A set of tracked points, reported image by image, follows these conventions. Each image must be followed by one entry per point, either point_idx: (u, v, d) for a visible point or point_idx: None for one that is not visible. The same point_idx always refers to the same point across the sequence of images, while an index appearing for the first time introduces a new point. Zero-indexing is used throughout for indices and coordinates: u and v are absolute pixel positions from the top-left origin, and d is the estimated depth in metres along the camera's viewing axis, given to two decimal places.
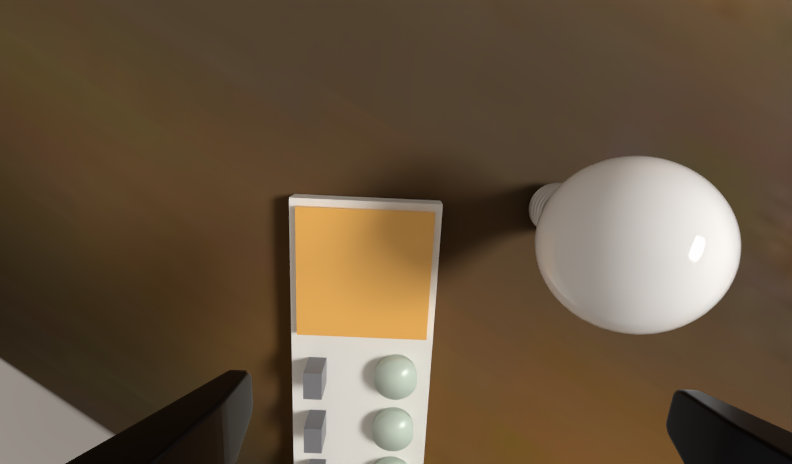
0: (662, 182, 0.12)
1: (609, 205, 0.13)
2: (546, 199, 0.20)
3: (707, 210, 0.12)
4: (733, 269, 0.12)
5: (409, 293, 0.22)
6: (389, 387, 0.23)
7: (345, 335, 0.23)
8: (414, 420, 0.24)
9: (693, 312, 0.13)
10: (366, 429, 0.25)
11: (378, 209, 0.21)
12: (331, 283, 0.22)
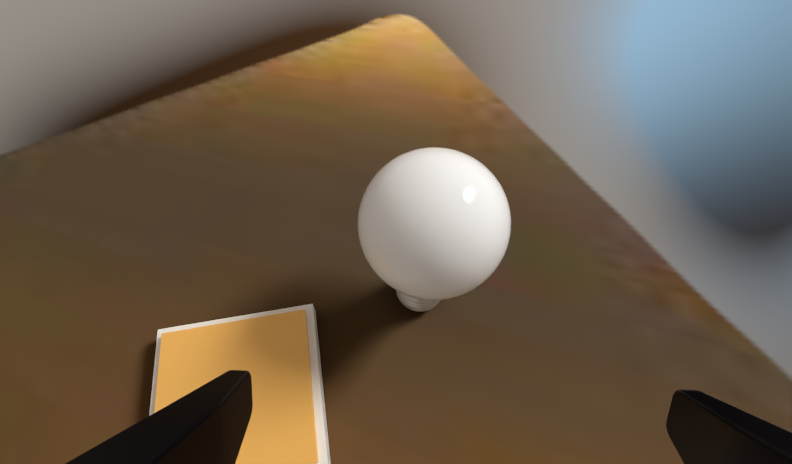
0: None
1: (382, 170, 0.16)
2: None
3: (445, 149, 0.16)
4: (487, 179, 0.15)
5: (289, 402, 0.19)
6: None
7: None
8: None
9: (473, 212, 0.14)
10: None
11: None
12: None
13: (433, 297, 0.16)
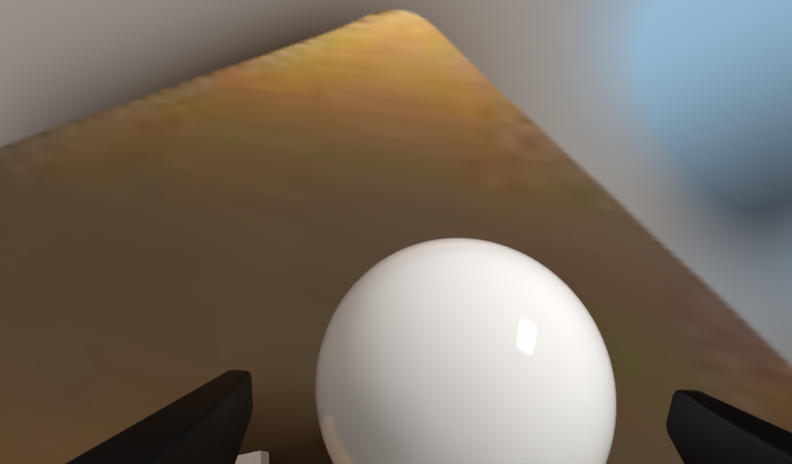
0: (422, 245, 0.09)
1: (360, 290, 0.08)
2: None
3: (486, 252, 0.08)
4: (577, 325, 0.07)
5: None
6: None
7: None
8: None
9: (559, 420, 0.06)
10: None
11: None
12: None
13: None
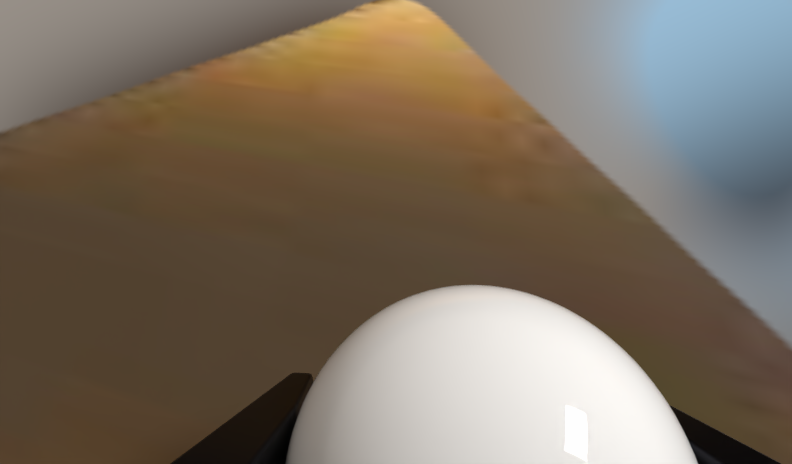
0: (430, 300, 0.06)
1: (343, 369, 0.06)
2: None
3: (522, 318, 0.06)
4: (666, 439, 0.05)
5: None
6: None
7: None
8: None
9: None
10: None
11: None
12: None
13: None
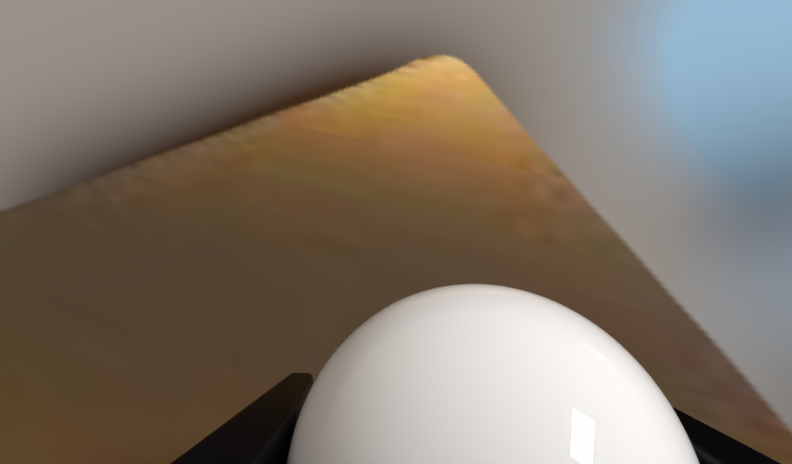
0: (431, 299, 0.06)
1: (345, 368, 0.06)
2: None
3: (524, 317, 0.06)
4: (667, 438, 0.05)
5: None
6: None
7: None
8: None
9: None
10: None
11: None
12: None
13: None
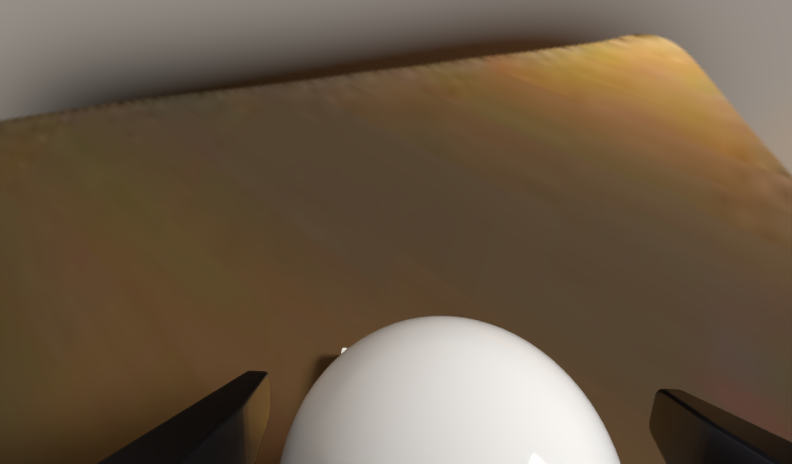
0: (397, 334, 0.07)
1: (322, 396, 0.07)
2: None
3: (471, 351, 0.07)
4: (584, 454, 0.06)
5: None
6: None
7: None
8: None
9: None
10: None
11: None
12: None
13: None
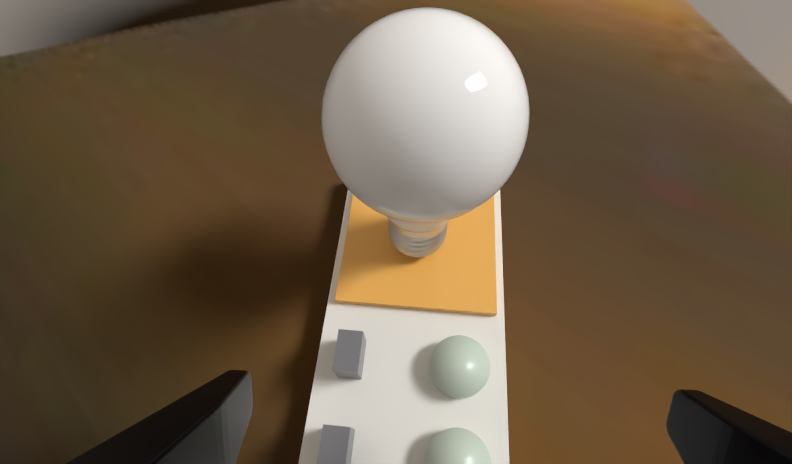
0: None
1: (346, 47, 0.12)
2: None
3: None
4: (491, 36, 0.11)
5: (472, 255, 0.19)
6: (452, 375, 0.16)
7: (395, 302, 0.18)
8: (490, 456, 0.16)
9: (476, 75, 0.10)
10: None
11: None
12: (384, 241, 0.20)
13: (432, 213, 0.12)
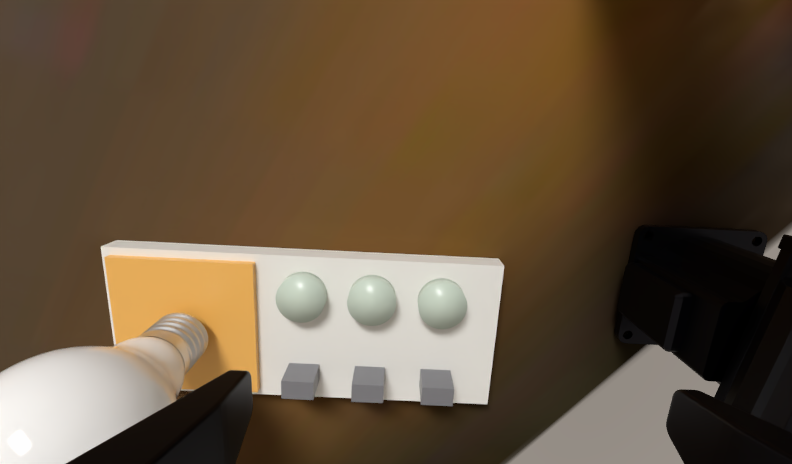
0: None
1: None
2: None
3: None
4: None
5: (198, 282, 0.20)
6: (308, 306, 0.20)
7: (253, 347, 0.21)
8: (366, 273, 0.20)
9: None
10: (379, 325, 0.21)
11: None
12: None
13: None
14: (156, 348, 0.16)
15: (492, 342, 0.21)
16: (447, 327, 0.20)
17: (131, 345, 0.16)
